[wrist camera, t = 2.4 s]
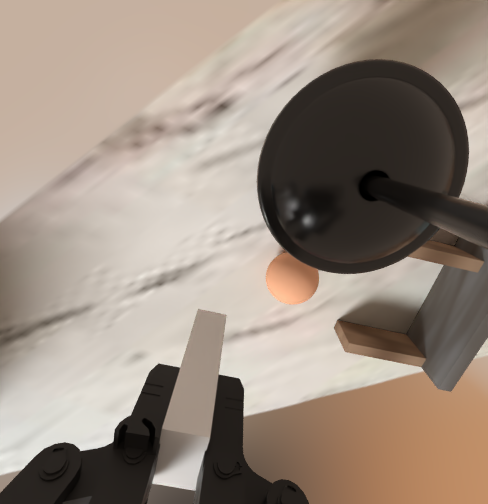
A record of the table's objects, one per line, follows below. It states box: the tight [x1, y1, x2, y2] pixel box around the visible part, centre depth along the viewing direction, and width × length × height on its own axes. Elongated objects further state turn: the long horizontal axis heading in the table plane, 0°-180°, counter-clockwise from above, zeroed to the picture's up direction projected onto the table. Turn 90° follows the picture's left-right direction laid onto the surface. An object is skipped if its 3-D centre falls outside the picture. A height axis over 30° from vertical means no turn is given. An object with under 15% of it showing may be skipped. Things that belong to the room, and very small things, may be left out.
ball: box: [266, 252, 319, 304], centre depth 25 cm, size 4×4×4 cm
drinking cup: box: [257, 59, 488, 274], centre depth 14 cm, size 8×8×20 cm
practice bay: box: [334, 237, 488, 391], centre depth 24 cm, size 9×14×6 cm, turn 167°
